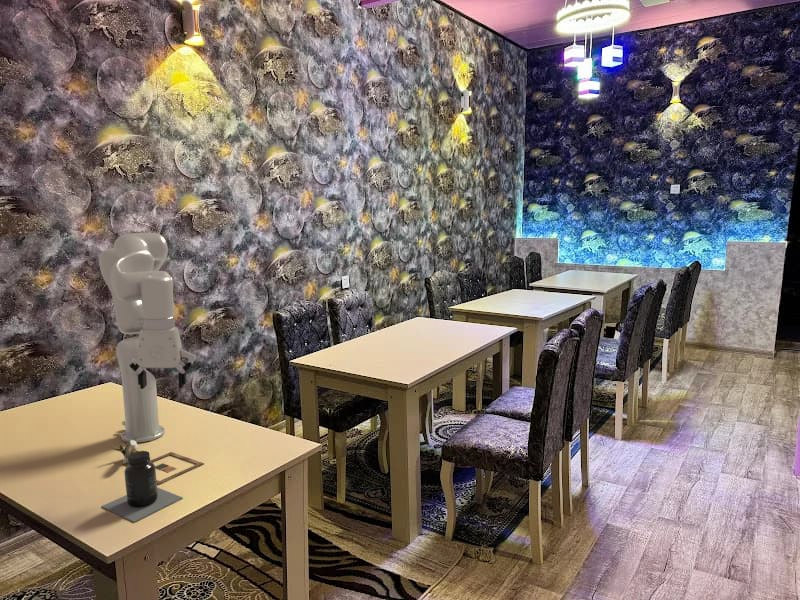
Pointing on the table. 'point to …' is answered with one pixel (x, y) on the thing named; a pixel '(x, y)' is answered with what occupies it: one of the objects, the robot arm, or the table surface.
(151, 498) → the supplement bottle
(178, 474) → the frame
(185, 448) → the table surface
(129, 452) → the eagle figurine
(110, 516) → the table surface
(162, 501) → the mat
